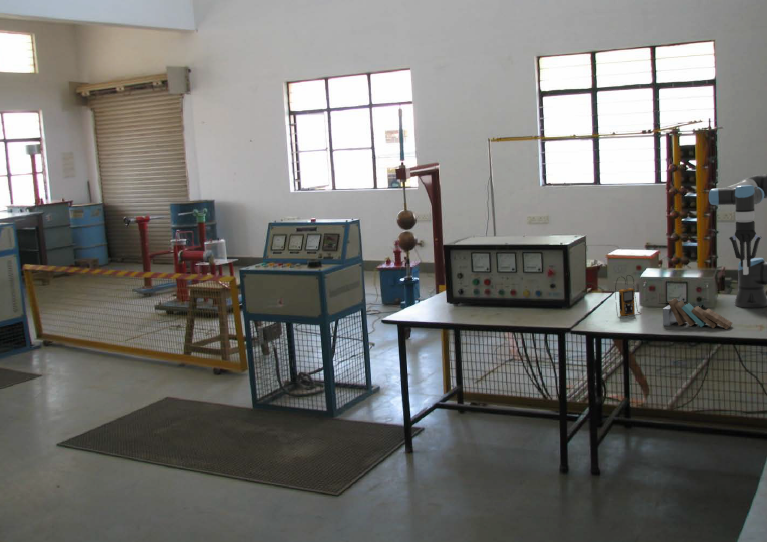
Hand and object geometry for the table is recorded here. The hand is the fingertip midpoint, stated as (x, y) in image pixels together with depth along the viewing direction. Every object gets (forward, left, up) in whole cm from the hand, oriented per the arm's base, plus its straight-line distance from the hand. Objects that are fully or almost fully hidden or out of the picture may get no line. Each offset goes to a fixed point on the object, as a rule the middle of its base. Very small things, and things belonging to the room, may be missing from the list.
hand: (745, 274), depth 346 cm
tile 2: (+7, -10, -24) cm, 27 cm away
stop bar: (+18, -28, -25) cm, 41 cm away
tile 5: (+15, -23, -24) cm, 36 cm away
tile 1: (+5, -5, -24) cm, 25 cm away
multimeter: (+21, -51, -25) cm, 61 cm away
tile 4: (+12, -18, -24) cm, 33 cm away
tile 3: (+10, -14, -24) cm, 30 cm away
